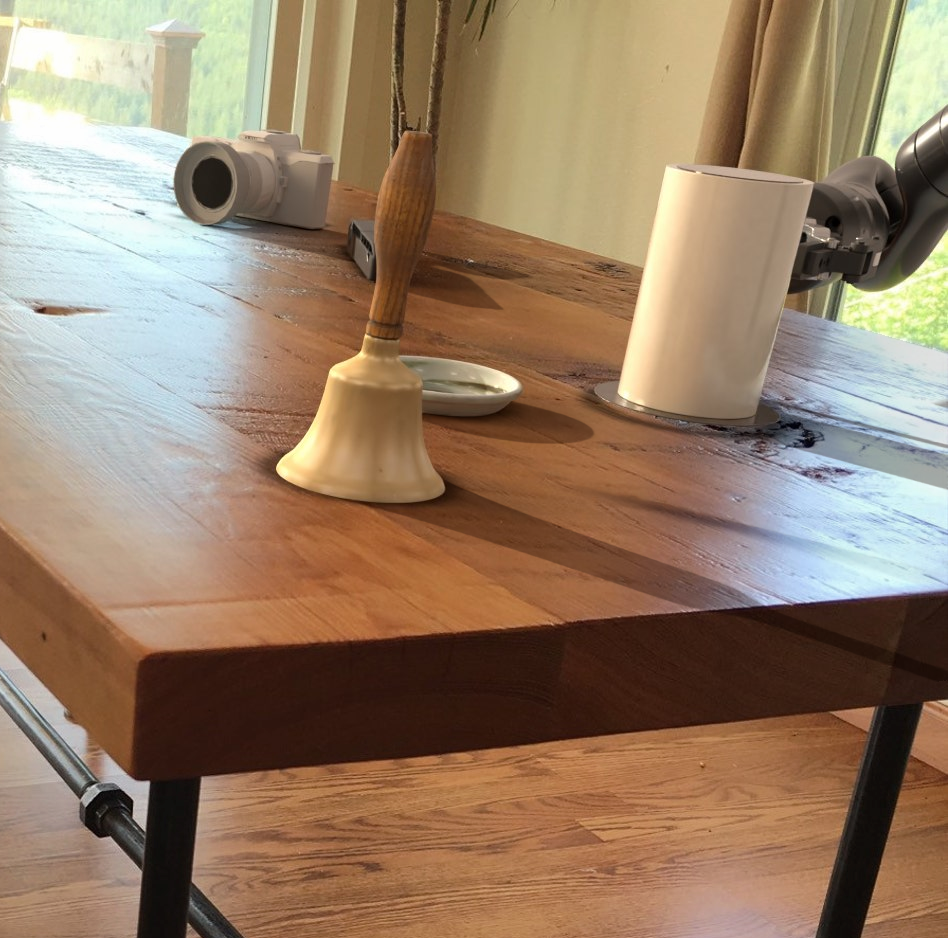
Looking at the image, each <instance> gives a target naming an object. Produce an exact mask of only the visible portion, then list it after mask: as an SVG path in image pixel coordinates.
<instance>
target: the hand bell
mask: <svg viewBox="0 0 948 938" xmlns="http://www.w3.org/2000/svg"><path fill="white" fill-rule="evenodd" d="M433 154H434V153H433V134H432V133H429V132H424V131H416V130H405V131H404V132H403V134H402V136H401V139H400V141H399V144H398V146H397V149H396V151H395V153H394V155H393V157H392V159H391V161H390V163H389V165H388V167H387V169H386V171H385V174H384V175H383V179H382V182H381V185H380V188H379V192H378V196H377V201H376V208H375V217H374V221H375V227H374V243H375V253H376V261H377V277H376V281H375V286H374V292H373V295H372V301H371V305H370V309H369V310H370V311H369V315H368V319H369V320H368V321H367V323H366V326H365V327H366V328H365V334H364V337H363V342H362V346H361V350H360V352H359V353H358V354H357V355H355V356H353V357H351V358H349V359H347V360H344V361H342V362H339V363H336V364H334V365H333V366H332V367H331V368H330V370H329V372H328V376H327V380H326V384H325V386H324V387H325V388H324V391H323V395H322V397H321V401H320V405H319V407H318V410H317V412H316V415H315V417H314V419H313V421H312V423H311V425H310V427H309V429H308V431H307V432H306V433H305V435H304V437H303V438H302V439H301V440H300V442H299V443H298V444H297V445H296V446H295V447H294V449H292V450H291V451H289V452H287V453H286V454H285V455H283V457H281V459H280V460H279V461H278V463H277V465H276V468H275V469H276V472H277V474H278V475H279V476H280V477H281V478H282V479H284V480H285V481H286V482H288V483H291V484H292V485H295V486H296V487H300V488H303V489H305V490H308V491H311V492H314V493H318V494H322V495H326V496H331V497H335V498H341V499H347V500H351V501H360V502H370V503H385V504H387V503H388V504H405V503H417V502H424V501H430V500H433V499H436V498H438V497H440V496H442V495H443V494H444V493H445V491H446V487H445V483H444V480H443V478H442V477H441V475H440V473H438V472H437V471H436V469H435V468H434V466H433V464H432V461H431V458H430V457H429V454H428V451H427V448H426V443H425V439H424V431H423V413H422V391H423V390H424V389H423V383H422V379H421V378H420V377H419V375H418V374H416V373H415V372H413V371H412V370H410V369H409V368H408V367H407V366H406V365H405V364H404V363H403V362H402V361H401V360H400V358H399V356H400V353H399V352H400V345H401V340H400V338H401V337H402V336H403V334H404V326H403V324H404V322H405V317H406V310H407V302H408V296H409V295H408V294H409V288H410V283H411V279H412V276H413V274H414V271H415V268H416V266H417V264H418V262H419V260H420V258H421V256H422V253H423V251H424V249H425V246H426V244H427V240H428V237H429V234H430V231H431V227H432V223H433V219H434V218H433V217H434V212H435V207H436V197H437V180H436V179H437V178H436V170H435V169H436V168H435V162H434V155H433Z"/></svg>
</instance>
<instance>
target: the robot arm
mask: <svg viewBox="0 0 948 938" xmlns="http://www.w3.org/2000/svg"><path fill="white" fill-rule="evenodd" d="M898 148H899V149H898V151H897V153H896V154H895V155H896V156H895V159H894V167H893V166H892V165H891V163H888V162H887V161H886V160H885V159H883V158H881V157H879V156H877V155H864V156H859V157H856V158H853V159H851V160H849V161H847V162H845V163H843V164H842V165H839V166H838V167H837V168H835V169H834V170H833V171H831V172H829V174H827V176H825V177H824V178H823V179H822V180H821V181H815V182H814V181H812V182H813V183H814V188H813V192H812V196H811V200H810V204H809V208H808V212H807V216H806V220H805V224H804V228H803V231H802V235H801V239H800V243H799V247H798V251H797V255H796V259H795V263H794V267H793V271H792V275H791V279H790V283H789V287H788V291H787V295H797V294H801V293H805V292H807V291H812V290H815V289H818V288H821V287H825V286H829V285H831V284H834V283H836V282H838V281H840V280H841V282H842V281H843V282H845V284H847V285H851V286H852V287H853V288H854V289H856V290H858V291H862V292H867V293H879V292H884V291H888V290H890V289H893V288H894V287H897V286H898V285H900V284H901V283H903V282H905V281H906V280H907V279H909V278H910V277H911V276H912V275H913V274H915V272H917V270H919V268H920V267H922V265H923V264H924V263H925V261H926V260H927V259H928V258H929V257H930V255H932V253H933V251H934V250H935V248H937V246H938V245H939V243H940V242H941V240H942V239H943V238H944V236H945V234H946V233H947V232H948V104H946V105H945V106H944V107H942V108H941V109H940V110H939V111H937V113H935V114H934V115H933V116H932V117H930V118H929V119H928V120H927V121H925V122H924V123H923V124H922V125H920V127H918V128H917V129H916V130H915V131H914V132H912V133H911V134H910V135H909V136H908V137H907V138H906V139H905V140H904V141H903V142H902V144H901V145H900V147H898Z"/></svg>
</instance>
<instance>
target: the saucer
mask: <svg viewBox="0 0 948 938" xmlns="http://www.w3.org/2000/svg"><path fill="white" fill-rule="evenodd" d="M399 358H400V360H401V361H402V362H403V363H404V364H405V365H406V366H407V367H408V368H409V369H410V370H412V371H413V372H415V373H416V374H418V375H419V377H420V378H421V379H422V383H423V391H422V414H426V415H427V414H430V415H436V416H445V417H482V416H488V415H489V416H490V415H492V414H495V413H497V412H500V411H501V410H503V409H504V408H506V406H508V405H509V404H510V403H511V402H512V401H515V400H517V399H519V398H520V396H522V393H523V390H524V389H523V385H522V383H521V382H520V381H519V380H518V379H517V378H515V377H514V376H511V374H508V373H506V372H503V371H501V370H497V369H494V368H491V367H488V366H484V365H480V364H477V363H472V362H466V361H460V360H454V359H448V358H439V357H429V356H418V355H399Z"/></svg>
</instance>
